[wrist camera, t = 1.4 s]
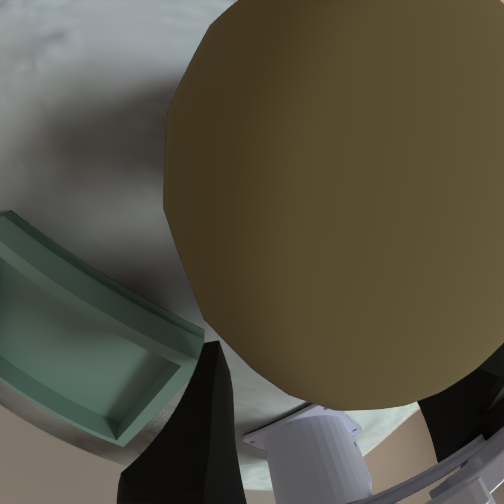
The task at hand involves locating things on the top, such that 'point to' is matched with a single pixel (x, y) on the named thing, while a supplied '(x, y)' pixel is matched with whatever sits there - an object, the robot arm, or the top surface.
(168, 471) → the robot arm
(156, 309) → the tray
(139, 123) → the top surface
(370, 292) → the cork
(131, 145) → the top surface
